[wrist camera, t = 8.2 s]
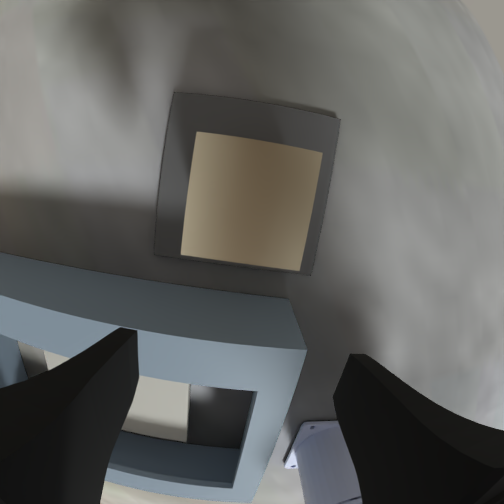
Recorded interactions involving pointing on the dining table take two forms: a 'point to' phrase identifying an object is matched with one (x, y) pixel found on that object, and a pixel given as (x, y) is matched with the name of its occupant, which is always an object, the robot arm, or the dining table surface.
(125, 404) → the robot arm
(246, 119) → the mat
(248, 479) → the box
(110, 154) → the dining table surface
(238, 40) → the dining table surface
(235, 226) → the birch post
